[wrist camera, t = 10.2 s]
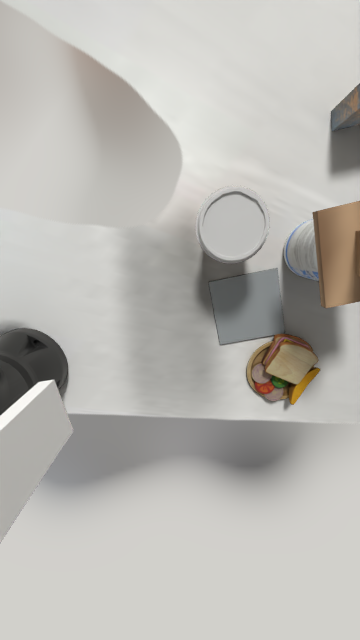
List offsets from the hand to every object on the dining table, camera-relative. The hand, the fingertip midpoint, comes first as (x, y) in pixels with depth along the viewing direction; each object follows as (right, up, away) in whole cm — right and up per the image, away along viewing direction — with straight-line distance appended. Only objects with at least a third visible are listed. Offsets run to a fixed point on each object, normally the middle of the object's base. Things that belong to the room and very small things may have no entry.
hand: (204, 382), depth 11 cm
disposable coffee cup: (+6, +18, +33) cm, 38 cm away
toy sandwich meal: (+18, -6, +39) cm, 44 cm away
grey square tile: (+11, +5, +36) cm, 38 cm away
